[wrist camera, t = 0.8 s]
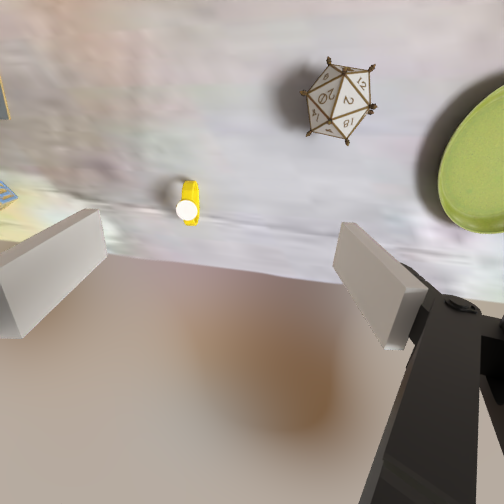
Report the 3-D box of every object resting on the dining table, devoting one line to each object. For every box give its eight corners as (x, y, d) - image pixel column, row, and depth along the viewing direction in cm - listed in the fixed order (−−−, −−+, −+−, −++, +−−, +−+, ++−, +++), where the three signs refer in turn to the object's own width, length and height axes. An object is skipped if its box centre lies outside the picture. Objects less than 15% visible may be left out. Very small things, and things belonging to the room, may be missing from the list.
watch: (205, 216, 41) (199, 233, 36) (186, 216, 41) (178, 233, 36) (202, 177, 38) (196, 189, 33) (183, 176, 38) (173, 188, 33)
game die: (315, 122, 39) (294, 161, 34) (307, 53, 33) (280, 87, 28) (383, 115, 35) (372, 158, 30) (388, 35, 29) (376, 71, 24)
